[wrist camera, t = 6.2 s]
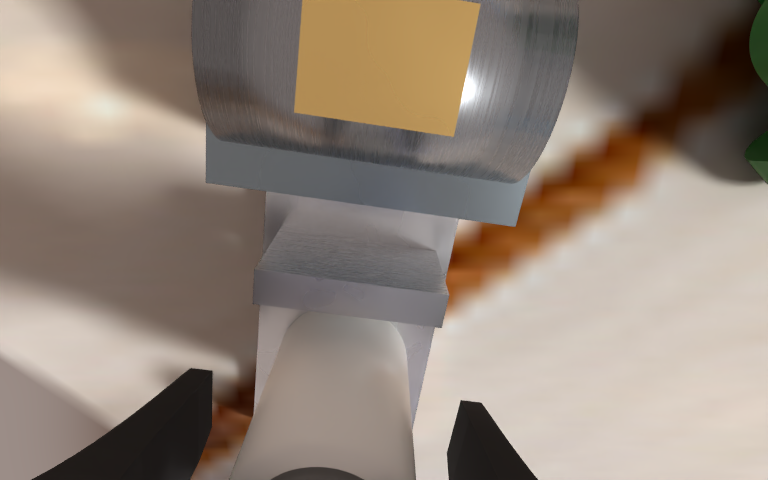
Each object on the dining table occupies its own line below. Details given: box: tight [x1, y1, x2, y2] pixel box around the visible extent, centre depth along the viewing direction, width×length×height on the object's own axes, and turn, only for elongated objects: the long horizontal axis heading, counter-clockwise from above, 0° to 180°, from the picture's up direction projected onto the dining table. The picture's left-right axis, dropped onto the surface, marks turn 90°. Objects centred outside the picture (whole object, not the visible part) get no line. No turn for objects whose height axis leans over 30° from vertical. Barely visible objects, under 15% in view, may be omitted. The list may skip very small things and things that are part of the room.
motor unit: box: [192, 0, 579, 429], centre depth 12 cm, size 17×7×7 cm, turn 172°
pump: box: [229, 311, 416, 480], centre depth 13 cm, size 4×4×7 cm
